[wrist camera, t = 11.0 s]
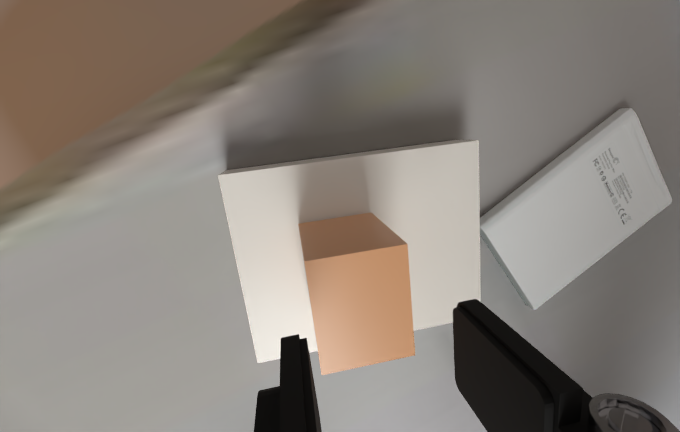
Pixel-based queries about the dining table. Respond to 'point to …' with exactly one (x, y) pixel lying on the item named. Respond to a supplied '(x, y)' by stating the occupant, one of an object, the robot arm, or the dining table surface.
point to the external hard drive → (576, 208)
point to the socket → (346, 200)
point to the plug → (357, 291)
